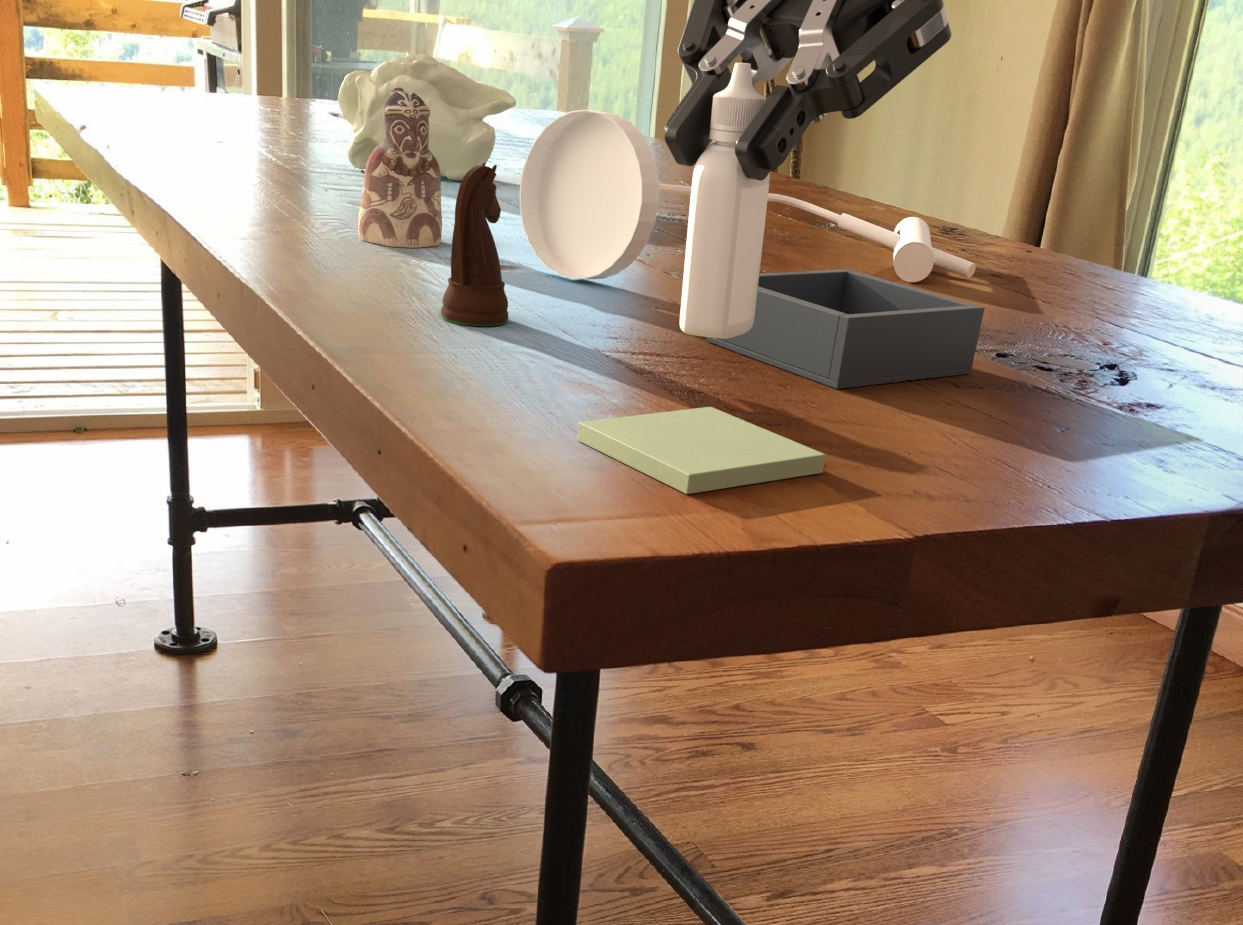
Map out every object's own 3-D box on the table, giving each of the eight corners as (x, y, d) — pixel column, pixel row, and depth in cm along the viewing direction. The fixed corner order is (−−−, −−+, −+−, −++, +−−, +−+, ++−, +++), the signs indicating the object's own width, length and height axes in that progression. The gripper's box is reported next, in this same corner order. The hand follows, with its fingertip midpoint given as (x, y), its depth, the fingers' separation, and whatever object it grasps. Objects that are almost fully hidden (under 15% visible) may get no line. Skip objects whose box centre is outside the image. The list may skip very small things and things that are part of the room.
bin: (970, 373, 95) (985, 307, 93) (836, 389, 88) (849, 317, 86) (836, 330, 104) (847, 268, 102) (705, 341, 97) (714, 275, 95)
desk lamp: (771, 178, 98) (1036, 205, 131) (541, 90, 110) (838, 135, 142) (717, 350, 104) (984, 334, 137) (504, 249, 115) (798, 257, 148)
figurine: (361, 245, 118) (364, 90, 113) (354, 230, 124) (357, 82, 119) (446, 249, 120) (453, 96, 114) (435, 234, 126) (441, 88, 121)
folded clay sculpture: (458, 233, 167) (522, 111, 165) (453, 220, 155) (522, 87, 152) (322, 154, 165) (384, 30, 163) (305, 134, 152) (372, -1, 150)
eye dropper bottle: (787, 331, 70) (819, 67, 65) (709, 343, 67) (736, 66, 62) (723, 314, 73) (748, 60, 68) (644, 325, 70) (665, 59, 64)
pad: (823, 473, 72) (826, 454, 71) (686, 494, 67) (689, 474, 67) (708, 423, 78) (710, 406, 78) (576, 440, 73) (578, 421, 73)
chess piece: (520, 319, 98) (531, 167, 93) (481, 331, 94) (490, 172, 89) (464, 308, 100) (472, 158, 95) (423, 318, 96) (429, 162, 91)
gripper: (763, -189, 69) (565, 78, 66) (1026, -189, 60) (812, 118, 58) (809, -58, 75) (630, 193, 72) (1055, -41, 66) (862, 244, 64)
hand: (712, 158), depth 65 cm, fingers closed on eye dropper bottle, 3 cm apart
